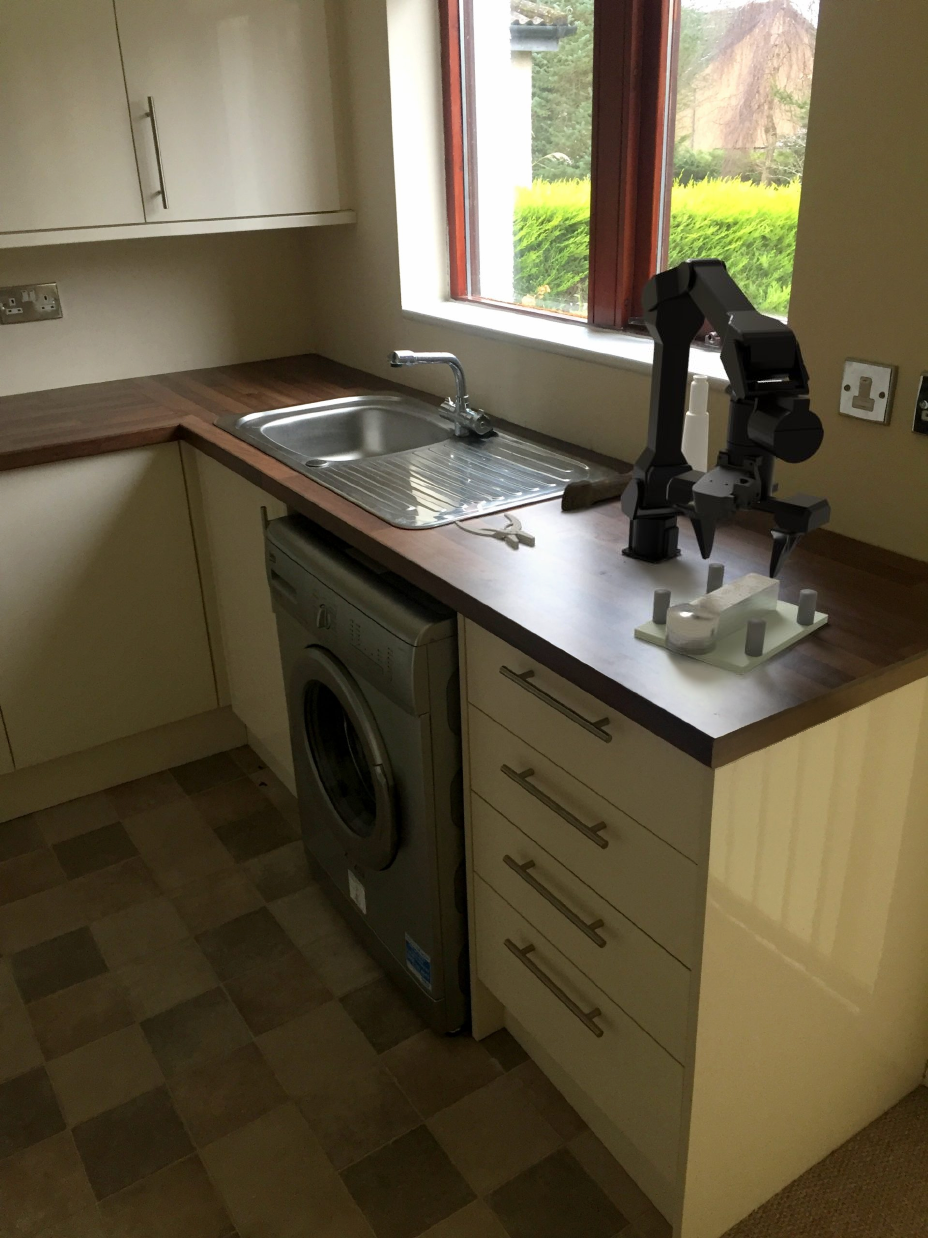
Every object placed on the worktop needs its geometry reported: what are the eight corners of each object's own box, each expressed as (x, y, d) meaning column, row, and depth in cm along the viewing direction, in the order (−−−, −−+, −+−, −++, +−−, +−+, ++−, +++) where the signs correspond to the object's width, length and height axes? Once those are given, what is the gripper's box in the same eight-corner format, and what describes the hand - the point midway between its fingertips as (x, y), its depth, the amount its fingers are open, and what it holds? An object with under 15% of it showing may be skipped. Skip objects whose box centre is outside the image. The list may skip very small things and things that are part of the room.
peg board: (634, 636, 125) (636, 598, 123) (723, 590, 137) (726, 556, 135) (741, 675, 115) (746, 635, 113) (827, 622, 128) (832, 585, 126)
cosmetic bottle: (675, 514, 167) (685, 379, 158) (668, 503, 173) (677, 372, 164) (711, 514, 167) (724, 379, 158) (703, 502, 173) (715, 372, 164)
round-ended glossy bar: (654, 644, 120) (656, 613, 118) (741, 599, 132) (744, 570, 130) (697, 660, 116) (700, 628, 115) (783, 611, 128) (787, 582, 127)
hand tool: (631, 488, 182) (633, 463, 180) (647, 493, 179) (649, 467, 177) (550, 509, 172) (551, 482, 170) (566, 514, 169) (567, 487, 167)
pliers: (508, 507, 168) (553, 534, 155) (508, 516, 169) (553, 544, 156) (454, 516, 164) (496, 544, 152) (454, 525, 165) (496, 554, 152)
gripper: (643, 440, 117) (635, 566, 124) (790, 470, 105) (773, 608, 111) (697, 423, 124) (687, 543, 131) (841, 449, 112) (823, 580, 118)
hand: (738, 567), depth 123 cm, fingers open, 9 cm apart
